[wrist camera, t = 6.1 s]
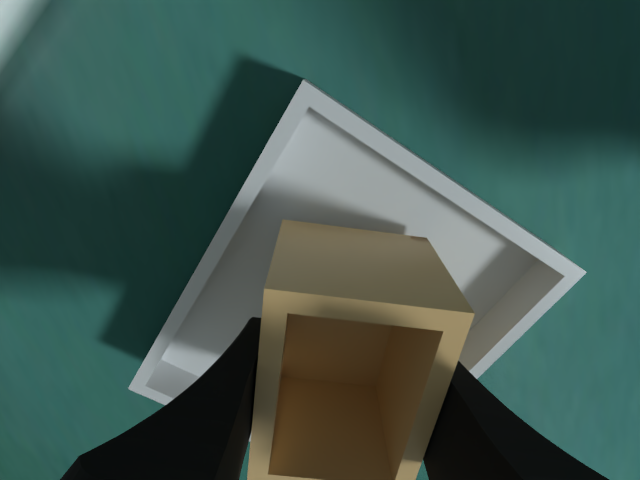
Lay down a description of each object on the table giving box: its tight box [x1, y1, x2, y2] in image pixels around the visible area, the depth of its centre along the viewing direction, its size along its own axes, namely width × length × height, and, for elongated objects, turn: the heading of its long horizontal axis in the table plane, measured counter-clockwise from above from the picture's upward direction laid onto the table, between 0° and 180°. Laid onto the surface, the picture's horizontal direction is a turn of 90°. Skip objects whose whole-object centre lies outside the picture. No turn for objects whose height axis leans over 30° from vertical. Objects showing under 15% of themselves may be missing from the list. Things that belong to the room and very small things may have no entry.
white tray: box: [128, 79, 587, 442], centre depth 15 cm, size 13×11×2 cm
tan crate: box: [247, 219, 475, 480], centre depth 12 cm, size 7×5×4 cm
